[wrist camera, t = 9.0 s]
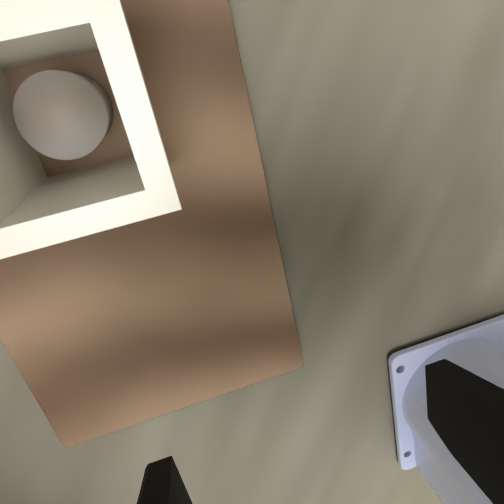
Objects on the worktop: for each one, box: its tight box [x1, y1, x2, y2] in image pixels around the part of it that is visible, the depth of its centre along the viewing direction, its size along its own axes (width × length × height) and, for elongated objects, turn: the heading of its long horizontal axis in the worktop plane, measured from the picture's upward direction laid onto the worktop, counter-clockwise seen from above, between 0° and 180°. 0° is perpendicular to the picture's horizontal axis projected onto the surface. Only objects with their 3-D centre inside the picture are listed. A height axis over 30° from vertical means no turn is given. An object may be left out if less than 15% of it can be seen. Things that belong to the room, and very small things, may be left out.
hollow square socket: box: [0, 0, 182, 259], centre depth 12 cm, size 5×5×6 cm
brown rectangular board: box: [0, 0, 304, 448], centre depth 16 cm, size 18×12×4 cm, turn 12°
